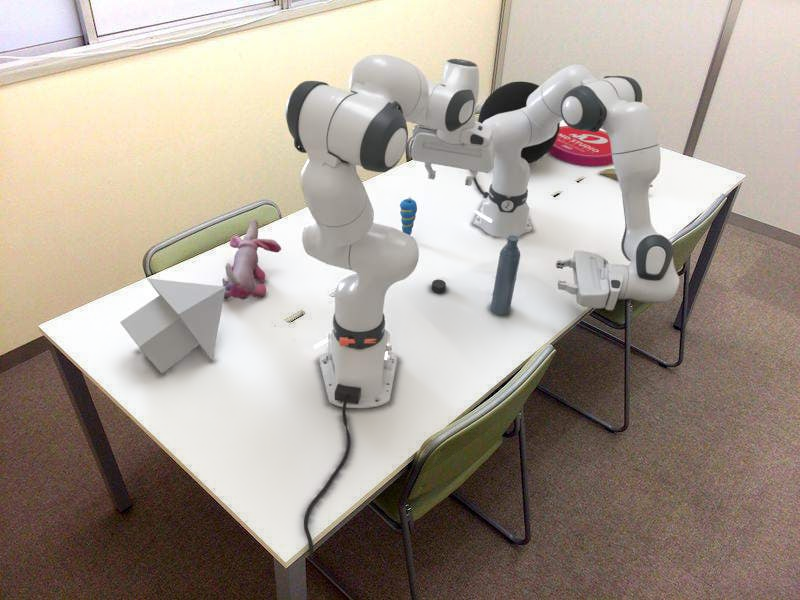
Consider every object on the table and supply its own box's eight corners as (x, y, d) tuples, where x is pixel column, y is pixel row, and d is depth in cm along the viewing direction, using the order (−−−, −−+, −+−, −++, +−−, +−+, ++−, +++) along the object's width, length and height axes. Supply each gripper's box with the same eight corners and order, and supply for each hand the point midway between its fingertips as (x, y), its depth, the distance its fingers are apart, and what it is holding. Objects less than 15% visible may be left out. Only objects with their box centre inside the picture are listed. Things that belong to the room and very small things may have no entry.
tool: (597, 174, 249) (599, 163, 246) (610, 171, 251) (612, 160, 248) (638, 197, 232) (641, 185, 229) (652, 193, 234) (655, 182, 231)
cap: (444, 294, 183) (444, 288, 181) (430, 291, 183) (430, 286, 182) (446, 286, 186) (447, 280, 184) (433, 284, 186) (433, 278, 185)
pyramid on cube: (256, 326, 161) (227, 278, 148) (174, 389, 154) (136, 344, 140) (223, 293, 171) (193, 245, 157) (145, 351, 164) (106, 305, 150)
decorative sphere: (465, 170, 243) (475, 91, 225) (481, 139, 266) (491, 65, 248) (546, 185, 237) (563, 105, 219) (556, 152, 260) (571, 77, 242)
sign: (588, 172, 247) (635, 153, 263) (590, 164, 245) (637, 145, 261) (529, 144, 265) (575, 128, 281) (530, 136, 263) (577, 120, 278)
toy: (299, 270, 187) (288, 223, 179) (243, 315, 171) (228, 266, 163) (250, 258, 196) (238, 213, 188) (193, 300, 180) (176, 253, 172)
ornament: (395, 240, 203) (397, 197, 194) (403, 233, 207) (405, 190, 198) (410, 245, 201) (413, 202, 192) (417, 237, 205) (420, 195, 196)
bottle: (486, 307, 179) (498, 235, 165) (501, 301, 181) (514, 230, 167) (498, 317, 176) (511, 245, 162) (513, 312, 178) (527, 240, 164)
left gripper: (409, 127, 155) (406, 179, 163) (495, 140, 151) (487, 194, 159) (416, 117, 160) (413, 169, 168) (499, 130, 156) (491, 182, 164)
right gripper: (610, 248, 174) (557, 242, 176) (619, 294, 159) (561, 287, 160) (604, 267, 178) (553, 261, 179) (612, 314, 162) (556, 307, 164)
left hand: (449, 181), depth 164 cm, fingers open, 8 cm apart
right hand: (557, 274), depth 169 cm, fingers open, 8 cm apart
